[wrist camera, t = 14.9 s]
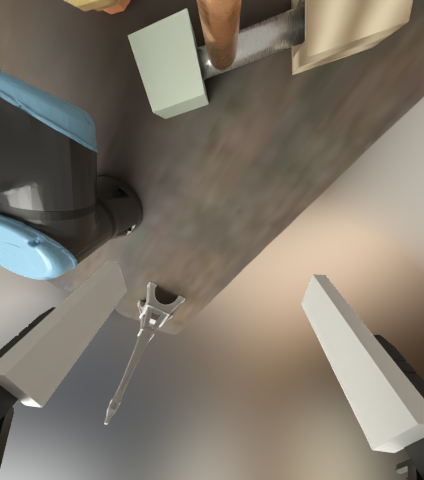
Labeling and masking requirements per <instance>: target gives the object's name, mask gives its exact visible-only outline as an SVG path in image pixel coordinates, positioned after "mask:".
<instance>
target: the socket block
mask: <svg viewBox="0 0 424 480" xmlns="http://www.w3.org/2000/svg"><path fill="white" fill-rule="evenodd" d="M128 39H129V42H130V45H131V48H132V51H133V54H134V57H135V60H136V63H137V66H138V69H139V72H140V75H141V78H142V81H143V84H144V87H145V90H146V93H147V96H148V99H149V102H150V105H151V108H152V111H153V113H155V114H157V115H159V116H161V117H163V118H164V119H167V118H170V117H173V116H176V115H179V114H182V113H185V112H188V111H191V110H194V109H197V108H200V107H202V106H205V105H208V104H209V103H208V98H207V93H206V88H205V83H204V80H202V76H201V71H200V66H199V61H198V56H197V52H196V48H197V43H196V38H195V34H194V31H193V27H192V24H191V20H190V17H189V13H188V9H187V8H186V9H184V10H182V11H180V12H177V13H175V14H173V15H171V16H169V17H167V18H164V19H162V20H160V21H158V22H156V23H154V24H152V25H149V26H147V27H145V28H143V29H141V30H139V31H136V32H134V33H132V34H130V35H128Z"/></svg>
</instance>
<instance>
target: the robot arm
mask: <svg viewBox="0 0 424 480" xmlns="http://www.w3.org/2000/svg"><path fill="white" fill-rule="evenodd" d="M97 153H98V149H97V146H96V132H95V124H94V122H93V120H92V118H91V117H90V115H89V114H88V113H87V112H86V111H84V110H83V109H81V108H80V107H78V106H76V105H73V104H71V103H69V102H67V101H65V100H63V99H61V98H58V97H56V96H54V95H52V94H50V93H48V92H46V91H43V90H41V89H39V88H37V87H35V86H33V85H31V84H29V83H26V82H24V81H22V80H20V79H18V78H16V77H14V76H11V75H9V74H7V73H5V72H3V71H1V70H0V265H1V266H3V267H4V268H6V269H8V270H10V271H12V272H14V273H17V274H19V275H22V276H25V277H28V278H33V279H40V280H46V279H53V278H56V277H58V276H60V275H62V274H63V273H65V272H66V271H68V270H70V269H72V268H75V267H76V266H77V264H78V263H80V262H81V261H82V260H84V259H85V258H86V257H88V256H89V255H90V254H92V253H93V252H94V251H95V250H97V249H98V248H99V247H101V246H102V245H103V244H105V243H106V242H107V241H109V240H110V239H114V238H118V237H122V236H126V235H128V234H130V233H131V232H133V231H134V230H135V229H136V228H137V227H138V226H139V224H140V222H141V219H142V208H141V204H140V201H139V199H138V197H137V196H136V194H135V193H134V192H133V190H132V189H131V188H130V187H129V186H127V185H126V184H125V183H123V182H122V181H120V180H118V179H116V178H113V177H108V176H100V177H97ZM126 291H127V289H126V285H125V282H124V279H123V276H122V272H121V269H120V266H119V263H118V262H117V261H107V262H106V263H105V264H104V265H103V266H101V267H100V268H99V269H98V270H97V271H96V272H95V273H94V274H93V275H92V276H90V277H89V278H88V279H87V280H86V281H85V282H84V283H83V284H82V285H81V286H79V287H78V288H77V289H76V290H75V291H74V292H73V293H72V294H71V295H70V296H68V298H66V299H65V300H64V301H63V302H62V303H61V304H60V305H58V306H57V307H56V308H55V307H53V308H51V309H49V310H48V311H46V312H45V313H43V314H41V315H40V316H39V317H37V318H36V319H35V320H34V321H33V322H32V323H31V324H29V326H28V327H26V328H25V329H24V330H22V331H21V332H20V333H19V335H18V336H16V337H14V338H13V339H12V340H11V341H10V342H9V343H7V344H6V345H5V346H4V347H3V348H2V349H1V350H0V467H1V463H2V459H3V455H4V450H5V446H6V442H7V438H8V434H9V430H10V426H11V422H12V418H13V413H14V411H13V410H14V408H13V407H12V406H13V405H14V404H15V402H16V401H17V400H19V401H21V402H22V403H23V404H24V405H27V406H35V407H43V406H44V404H45V403H46V402H47V400H48V399H49V398H50V396H51V395H52V394H53V392H54V391H55V389H56V388H57V387H58V385H59V384H60V382H61V381H62V380H63V378H64V377H65V376H66V374H67V373H68V372H69V370H70V369H71V367H72V366H73V364H74V363H75V362H76V360H77V359H78V357H79V356H80V355H81V354H82V352H83V351H84V349H85V348H86V347H87V345H88V344H89V343H90V341H91V340H92V338H93V337H94V336H95V334H96V333H97V331H98V330H99V329H100V327H101V326H102V325H103V323H104V322H105V320H106V319H107V318H108V316H109V315H110V314H111V312H112V311H113V309H114V308H115V307H116V305H117V304H118V303H119V301H120V300H121V298H122V297H123V296H124V294H125V293H126ZM301 305H302V307H303V309H304V311H305V313H306V315H307V317H308V319H309V321H310V323H311V325H312V327H313V329H314V331H315V333H316V335H317V337H318V340H319V342H320V344H321V346H322V347H323V350H324V352H325V354H326V356H327V358H328V360H329V362H330V364H331V366H332V368H333V370H334V372H335V374H336V377H337V379H338V381H339V383H340V385H341V387H342V389H343V391H344V393H345V395H346V397H347V399H348V401H349V403H350V405H351V407H352V409H353V411H354V413H355V415H356V418H357V420H358V422H359V424H360V425H361V428H362V429H363V432H364V434H365V436H366V438H367V440H368V442H369V444H370V446H371V448H372V450H376V451H384V452H392V453H395V452H397V451H399V450H401V449H403V448H404V449H405V450H406V452H407V454H408V455H409V457H410V459H409V460H406V461H404V462H402V463H399V464H398V465H397V467H396V471H397V472H398V473H399V474H401V473H404V472H407V471H408V477H407V478H406V480H424V381H423V379H422V378H421V377H420V376H419V375H417V374H416V371H415V370H414V369H413V368H412V367H411V365H410V364H409V363H407V362H406V360H405V359H404V357H403V356H402V355H401V354H400V353H399V351H397V349H396V348H395V347H394V346H393V345H391V344H390V343H389V342H388V341H387V340H386V339H384V338H383V337H382V336H380V335H373V334H372V333H371V332H370V331H369V329H368V328H367V327H366V326H365V324H364V323H363V322H362V321H361V319H360V318H359V317H358V316H357V314H356V313H355V312H354V311H353V309H352V308H351V307H350V306H349V304H348V303H347V302H346V301H345V299H344V298H343V297H342V296H341V294H340V293H339V292H338V291H337V289H336V288H335V287H334V286H333V284H332V283H331V282H330V281H329V279H328V278H327V277H326V276H325V275H313V276H312V278H311V281H310V283H309V286H308V288H307V291H306V293H305V296H304V298H303V301H302V303H301Z"/></svg>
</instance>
